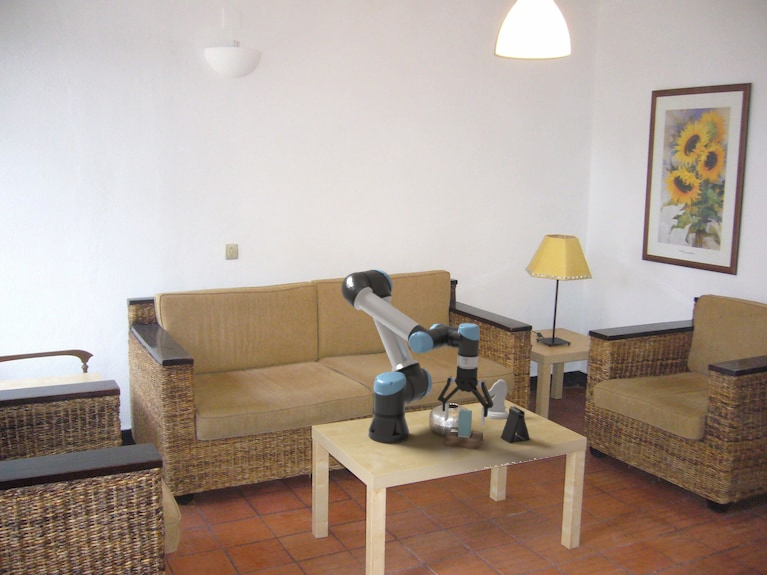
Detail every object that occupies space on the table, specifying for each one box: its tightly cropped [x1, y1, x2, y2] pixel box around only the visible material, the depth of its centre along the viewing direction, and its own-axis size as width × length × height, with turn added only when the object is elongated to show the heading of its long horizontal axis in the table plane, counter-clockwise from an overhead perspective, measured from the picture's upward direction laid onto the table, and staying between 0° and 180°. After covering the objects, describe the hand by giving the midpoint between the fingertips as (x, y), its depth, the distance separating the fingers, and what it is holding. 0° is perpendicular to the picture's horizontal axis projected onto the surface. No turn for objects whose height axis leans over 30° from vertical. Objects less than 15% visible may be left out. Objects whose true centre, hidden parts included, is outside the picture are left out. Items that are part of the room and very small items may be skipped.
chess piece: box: [486, 379, 509, 420], centre depth 319 cm, size 10×10×15 cm
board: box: [444, 430, 484, 450], centre depth 288 cm, size 12×10×3 cm
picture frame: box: [500, 405, 531, 444], centre depth 293 cm, size 9×6×12 cm, turn 114°
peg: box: [457, 408, 473, 438], centre depth 288 cm, size 4×4×12 cm
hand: (464, 422), depth 288 cm, fingers open, 13 cm apart
